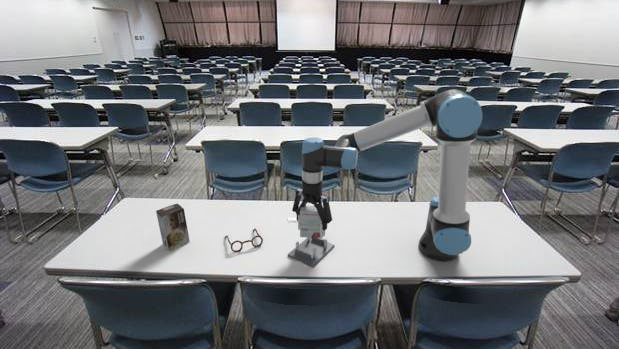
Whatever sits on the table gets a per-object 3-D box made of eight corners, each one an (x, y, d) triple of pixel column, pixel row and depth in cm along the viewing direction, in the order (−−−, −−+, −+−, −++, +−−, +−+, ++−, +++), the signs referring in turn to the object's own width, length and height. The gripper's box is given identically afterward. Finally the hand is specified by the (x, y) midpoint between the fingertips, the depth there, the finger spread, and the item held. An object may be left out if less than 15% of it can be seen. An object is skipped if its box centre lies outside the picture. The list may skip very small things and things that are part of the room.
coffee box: (183, 235, 141) (177, 202, 135) (190, 242, 137) (184, 208, 131) (162, 244, 135) (155, 210, 129) (168, 251, 131) (161, 216, 125)
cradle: (334, 246, 134) (334, 236, 132) (313, 267, 122) (313, 256, 120) (310, 237, 140) (310, 227, 138) (287, 256, 128) (287, 245, 126)
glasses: (231, 254, 130) (230, 243, 128) (224, 237, 141) (223, 227, 139) (263, 246, 135) (262, 235, 133) (254, 230, 146) (253, 220, 144)
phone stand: (287, 210, 163) (287, 207, 163) (311, 209, 164) (311, 207, 164) (288, 232, 145) (288, 229, 144) (315, 231, 146) (315, 228, 145)
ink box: (322, 231, 130) (323, 205, 125) (321, 238, 125) (322, 211, 121) (301, 230, 131) (301, 204, 126) (299, 237, 126) (299, 210, 122)
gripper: (343, 183, 116) (340, 236, 125) (293, 170, 128) (294, 219, 136) (333, 191, 111) (330, 246, 119) (282, 176, 122) (283, 227, 130)
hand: (311, 232), depth 128 cm, fingers closed on ink box, 9 cm apart
